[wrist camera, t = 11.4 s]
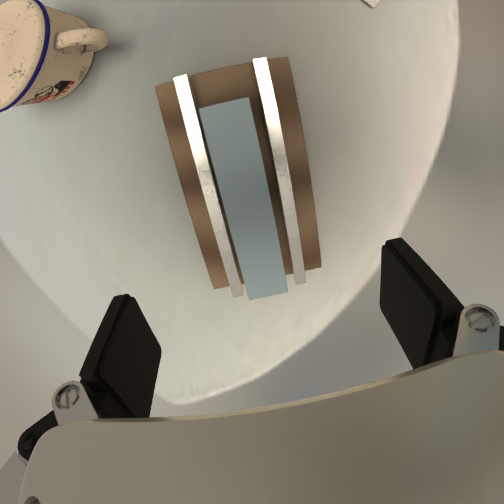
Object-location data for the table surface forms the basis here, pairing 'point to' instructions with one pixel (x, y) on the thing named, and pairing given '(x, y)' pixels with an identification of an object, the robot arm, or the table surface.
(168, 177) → the table surface
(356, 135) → the table surface
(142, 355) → the robot arm
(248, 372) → the table surface
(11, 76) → the teacup with lid
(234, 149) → the door panel
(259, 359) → the table surface
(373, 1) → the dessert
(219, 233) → the bottom track
